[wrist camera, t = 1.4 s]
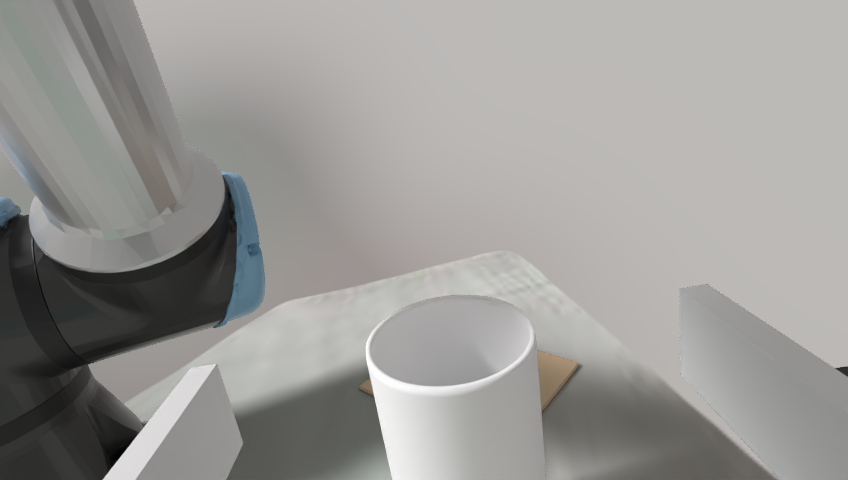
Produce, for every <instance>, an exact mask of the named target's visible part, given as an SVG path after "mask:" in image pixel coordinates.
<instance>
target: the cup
mask: <svg viewBox="0 0 848 480" xmlns="http://www.w3.org/2000/svg"><path fill="white" fill-rule="evenodd" d="M366 360H367V365H368V370H369V374H370V379H371V384H372V388H373V393H374V398H375V402H376V407H377V412H378V416H379V421H380V425H381V430H382V435H383V439H384V444H385V448H386V453H387V458H388V462H389V467H390V471H391V476H392V480H546V471H545V456H544V442H543V428H542V414H541V399H540V385H539V371H538V358H537V344H536V335H535V330H534V326H533V324H532V322H531V320H530V318H529V317H528V316H527V315H526V314H525V313H524V312H523V311H522V310H521V309H519V308H518V307H516V306H514V305H512V304H510V303H508V302H505V301H502V300H499V299H496V298H492V297H486V296H479V295H450V296H442V297H436V298H431V299H427V300H423V301H420V302H417V303H414V304H411V305H409V306H406V307H404V308H402V309H400V310H398V311H396V312H394V313H393V314H391V315H390V316H388V317H387V318H385V319H384V320H383V321H382V322H380V323H379V324H378V325H377V326H376V328H375V329H374V330H373V331H372V333H371V334H370V336H369V338H368V341H367V344H366Z"/></svg>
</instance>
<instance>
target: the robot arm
mask: <svg viewBox="0 0 848 480" xmlns="http://www.w3.org/2000/svg"><path fill="white" fill-rule="evenodd" d="M0 150H1V151H2V152H3V153H4V155H5V156H6V157H7V159H8V160H9V161H10V162H11V164H12V165H13V166H14V168H15V169H16V170H17V172H18V173H19V174H20V175H21V177H22V178H23V179H24V181H25V182H26V183H27V184H28V186H29V187H30V189H31V190H32V191H33V192H34V194H35V198H34V199H33V202H32V205H31V208H30V213H29V215H25V216H23V215H20V212H21V210H20V207H19V206H17V205H15V204H14V203H13V202H12V201H11V200H10V199H9V198H5V197H0V480H226V479H227V477H228V475H229V473H230V471H231V469H232V467H233V465H234V462H235V460H236V458H237V456H238V454H239V452H240V450H241V448H242V445H243V440H242V437H241V434H240V431H239V428H238V425H237V422H236V419H235V416H234V413H233V410H232V407H231V404H230V401H229V398H228V395H227V392H226V389H225V386H224V383H223V380H222V377H221V375H220V372H219V369H218V366H217V364H212V365H206V366H199V367H193V368H190V369H189V371H188V372H187V373H186V374H185V376H184V377H183V378H182V379H181V381H180V382H179V383H178V385H177V386H176V387H175V388H174V390H173V391H172V392H171V393H170V395H169V396H168V397H167V399H166V400H165V401H164V402H163V404H162V405H161V406H160V407H159V409H158V410H157V411H156V412H155V414H154V415H153V416H152V418H151V419H150V420H149V421H148V423H147V424H146V425H145V426H144V428H143V425H142V423H141V422H140V420H139V419H138V417H137V416H136V415H135V414H134V413H133V412H132V411H131V410H129V409H128V408H127V407H126V406H125V405H124V404H123V403H122V402H121V401H119V400H118V399H117V398H116V397H115V396H114V395H113V394H112V393H111V392H109V391H108V390H107V389H106V388H105V387H104V386H103V385H102V384H100V383H99V382H98V381H97V380H96V379H95V378H94V377H93V375H92V373H91V371H90V369H89V367H88V364H90V363H94V362H97V361H100V360H104V359H107V358H110V357H114V356H117V355H120V354H123V353H127V352H130V351H133V350H137V349H140V348H143V347H147V346H150V345H153V344H156V343H160V342H163V341H166V340H170V339H174V338H177V337H180V336H184V335H187V334H191V333H194V332H198V331H201V330H205V329H208V328H211V327H213V328H217V327H221V326H223V325H225V324H226V323H227V322H228V321H231V320H234V319H237V318H240V317H242V316H245V315H248V314H250V313H252V312H254V311H255V310H256V309H258V308H259V306H260V305H261V303H262V302H263V299H264V295H265V274H264V265H263V258H262V253H261V249H260V247H259V235H258V229H257V223H256V219H255V214H254V211H253V207H252V203H251V199H250V196H249V193H248V190H247V187H246V185H245V182H244V180H243V179H242V177H241V176H239V175H238V174H235V173H226V172H220V170H219V169H218V167H217V166H216V164H215V163H214V161H213V160H212V159H211V158H210V157H209V156H208V155H206V154H205V153H204V152H202V151H201V150H199V149H197V148H195V147H193V146H191V145H188V144H186V143H185V140H184V137H183V135H182V132H181V129H180V126H179V123H178V121H177V118H176V115H175V113H174V110H173V107H172V104H171V102H170V99H169V96H168V94H167V91H166V88H165V86H164V83H163V80H162V77H161V75H160V72H159V69H158V66H157V64H156V61H155V58H154V56H153V53H152V50H151V48H150V45H149V42H148V39H147V37H146V34H145V31H144V29H143V26H142V23H141V21H140V18H139V15H138V12H137V10H136V7H135V4H134V1H133V0H0ZM680 374H681V375H682V376H683V377H684V379H685V380H686V381H687V382H688V383H689V384H690V385H691V386H692V387H693V388H694V389H695V390H696V391H697V392H698V393H699V394H700V395H701V397H703V399H704V400H705V401H706V402H707V403H708V404H709V405H710V406H711V407H712V408H713V409H714V410H715V411H716V412H717V413H718V415H719V416H720V417H721V418H722V419H723V420H724V421H725V422H726V423H727V424H728V425H729V426H730V427H731V428H732V429H733V430H734V432H735V433H736V434H737V435H738V436H739V437H740V438H741V439H742V440H743V441H744V442H745V443H746V444H747V445H748V446H749V447H750V448H751V449H752V451H754V453H755V454H756V455H757V456H758V457H759V458H760V459H761V460H762V461H763V462H764V463H765V464H766V465H767V467H768V468H769V469H770V470H771V471H772V472H773V473H774V474H775V475H776V476H777V477H778V478H779V479H780V480H848V367H840V368H833V367H832V366H830V365H829V364H827V363H826V362H824V361H823V360H821V359H820V358H818V357H817V356H815V355H814V354H812V353H811V352H809V351H808V350H806V349H805V348H803V347H802V346H800V345H799V344H797V343H796V342H794V341H792V340H791V339H790V338H788V337H787V336H785V335H783V334H782V333H781V332H779V331H777V330H776V329H774V328H773V327H771V326H770V325H768V324H767V323H765V322H764V321H762V320H761V319H759V318H758V317H756V316H755V315H753V314H752V313H750V312H749V311H747V310H746V309H744V308H743V307H741V306H740V305H738V304H737V303H735V302H734V301H732V300H730V299H729V298H727V297H726V296H724V295H723V294H721V293H720V292H718V291H717V290H715V289H714V288H712V287H711V286H709V285H708V284H705V285H699V286H692V287H687V288H680Z"/></svg>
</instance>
